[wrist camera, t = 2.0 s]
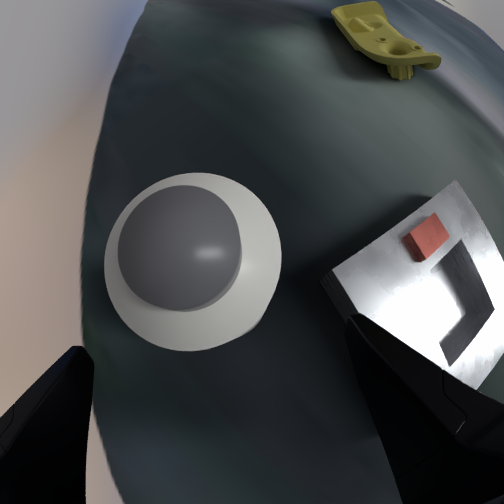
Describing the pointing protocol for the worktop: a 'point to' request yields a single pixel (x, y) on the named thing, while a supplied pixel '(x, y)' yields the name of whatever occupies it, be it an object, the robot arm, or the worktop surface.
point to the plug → (193, 262)
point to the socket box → (432, 286)
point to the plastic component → (381, 39)
